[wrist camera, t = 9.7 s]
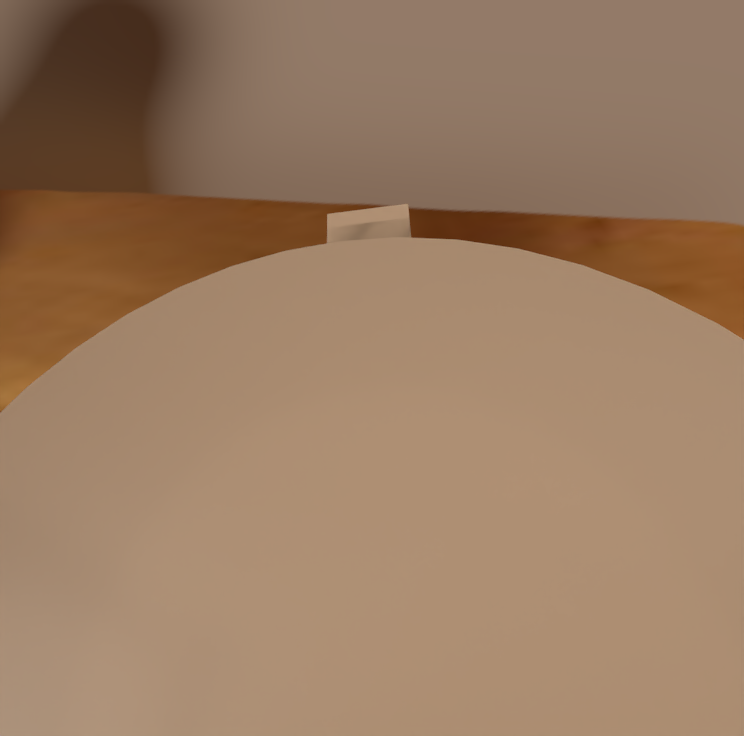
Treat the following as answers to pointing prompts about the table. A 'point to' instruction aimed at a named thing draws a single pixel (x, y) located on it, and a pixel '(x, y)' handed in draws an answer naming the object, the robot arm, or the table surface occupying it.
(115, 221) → the table surface
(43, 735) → the white pitcher
